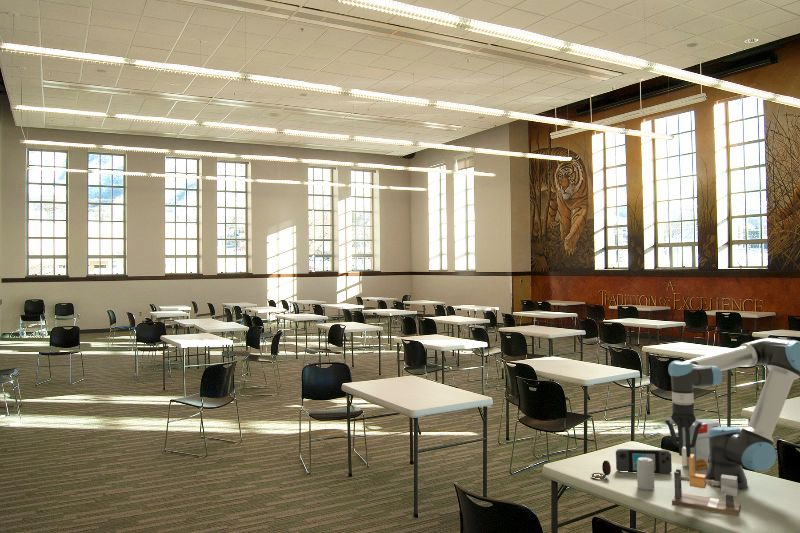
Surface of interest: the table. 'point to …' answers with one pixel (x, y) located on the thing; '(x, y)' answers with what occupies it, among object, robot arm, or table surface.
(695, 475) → the orange l-shaped block
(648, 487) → the beverage can
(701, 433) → the hard drive box
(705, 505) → the cord board
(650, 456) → the handheld gaming console
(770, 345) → the robot arm
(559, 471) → the table surface
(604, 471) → the compass
